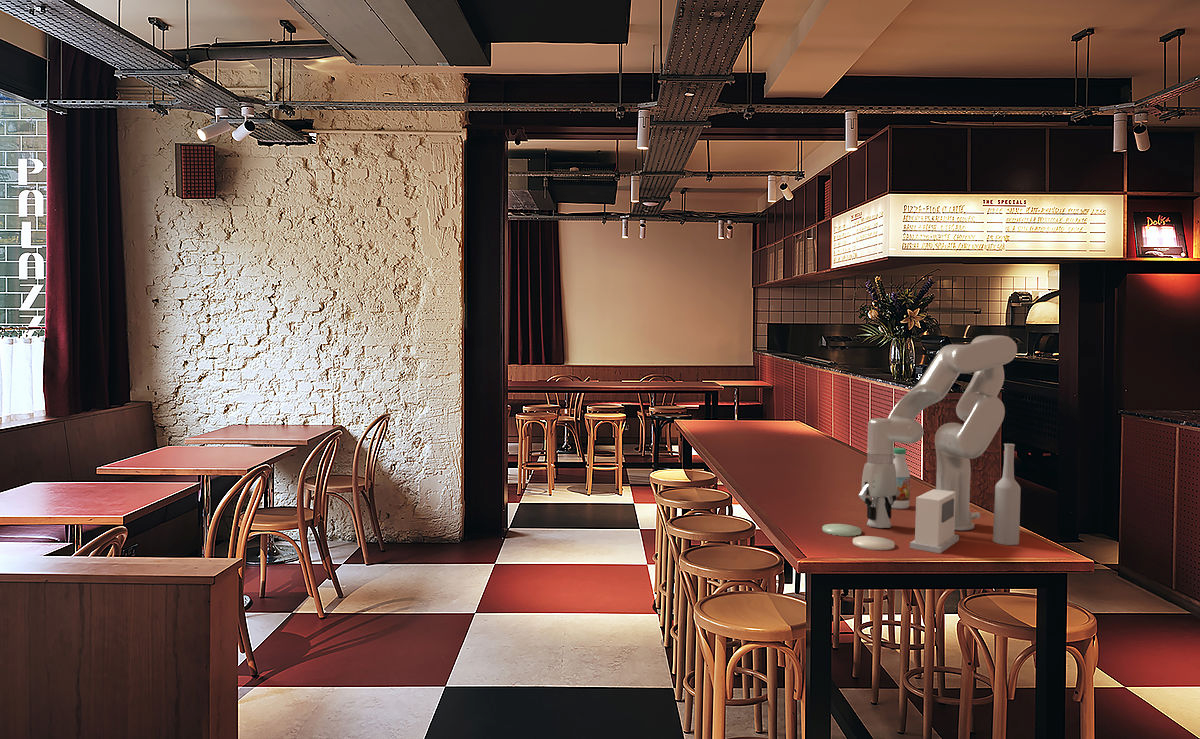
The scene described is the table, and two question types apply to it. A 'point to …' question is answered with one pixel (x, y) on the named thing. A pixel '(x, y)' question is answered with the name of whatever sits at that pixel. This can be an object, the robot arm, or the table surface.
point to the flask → (880, 515)
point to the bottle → (1007, 503)
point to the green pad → (841, 529)
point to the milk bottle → (902, 479)
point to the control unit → (935, 521)
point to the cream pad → (873, 543)
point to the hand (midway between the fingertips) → (879, 517)
